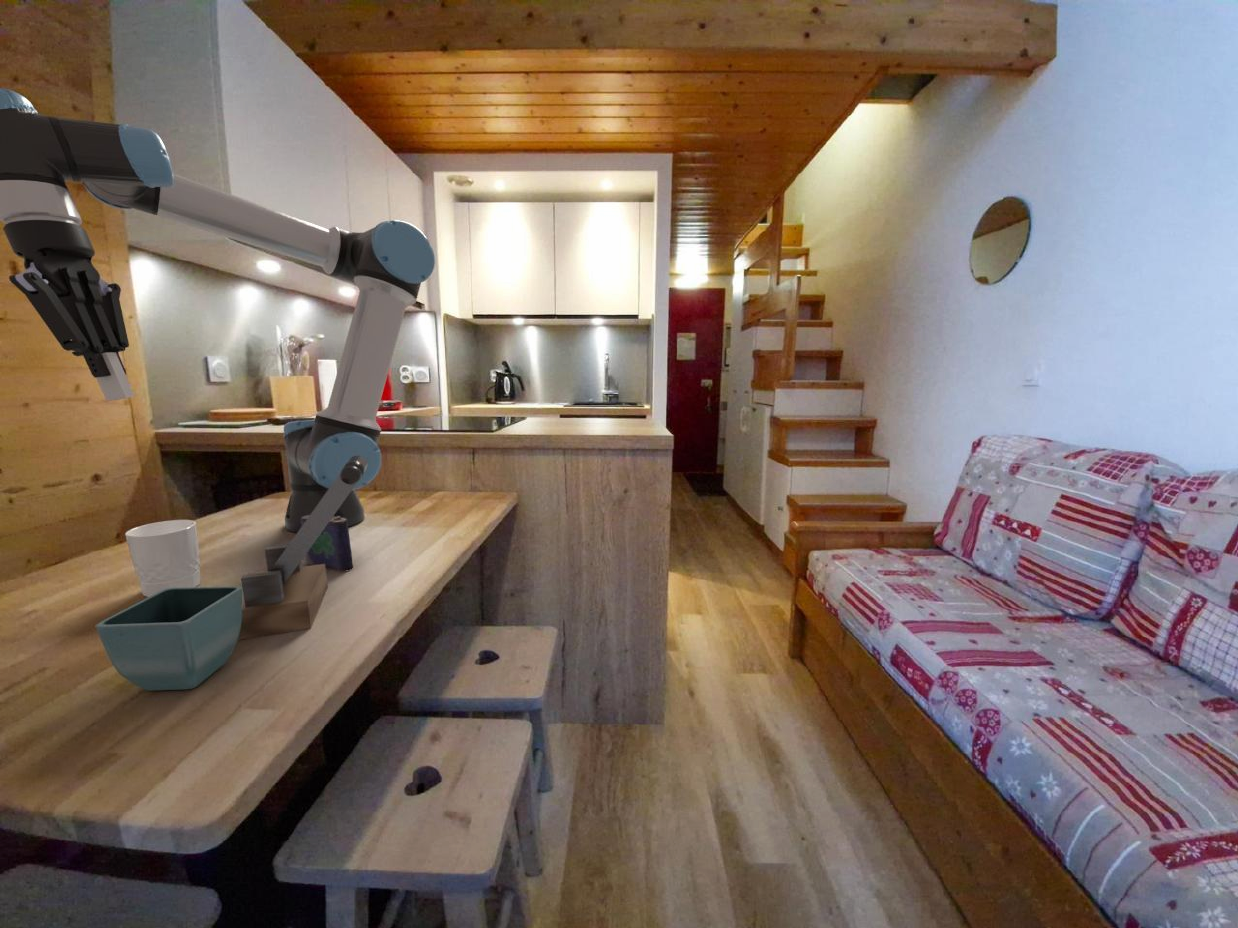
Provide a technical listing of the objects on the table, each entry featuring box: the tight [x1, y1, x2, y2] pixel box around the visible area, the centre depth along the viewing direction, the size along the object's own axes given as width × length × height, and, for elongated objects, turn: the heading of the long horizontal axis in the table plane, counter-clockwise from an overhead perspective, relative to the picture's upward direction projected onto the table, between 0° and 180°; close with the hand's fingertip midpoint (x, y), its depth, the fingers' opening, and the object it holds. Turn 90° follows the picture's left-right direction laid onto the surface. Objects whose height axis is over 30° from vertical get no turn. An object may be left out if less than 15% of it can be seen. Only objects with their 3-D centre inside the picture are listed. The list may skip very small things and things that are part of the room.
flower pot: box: [94, 585, 242, 691], centre depth 54 cm, size 9×9×9 cm
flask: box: [301, 515, 354, 572], centre depth 84 cm, size 9×3×11 cm, turn 74°
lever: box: [269, 456, 367, 585], centre depth 68 cm, size 3×9×21 cm
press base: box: [237, 544, 329, 641], centre depth 68 cm, size 10×13×8 cm
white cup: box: [125, 519, 201, 598], centre depth 75 cm, size 8×8×10 cm
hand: (120, 398), depth 70 cm, fingers closed
